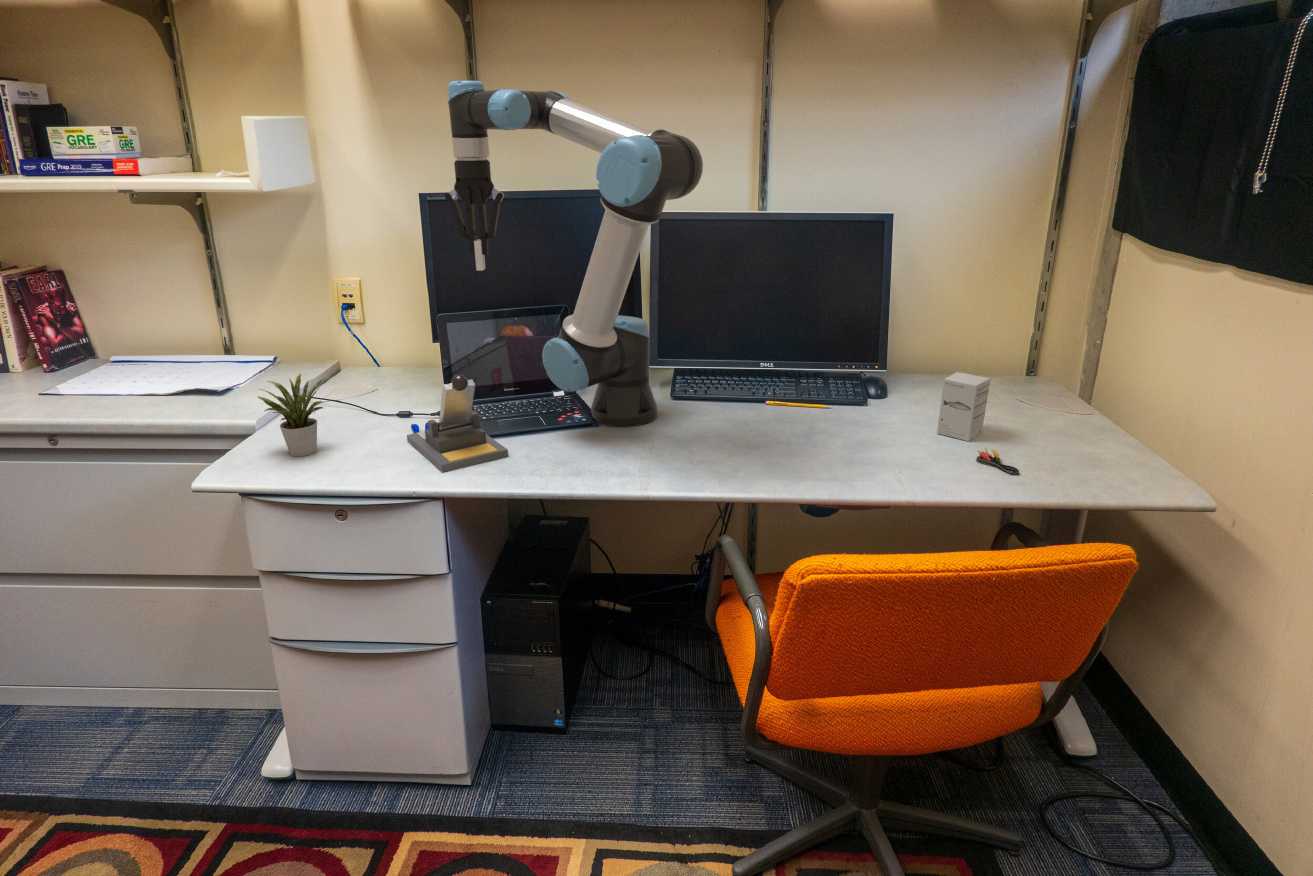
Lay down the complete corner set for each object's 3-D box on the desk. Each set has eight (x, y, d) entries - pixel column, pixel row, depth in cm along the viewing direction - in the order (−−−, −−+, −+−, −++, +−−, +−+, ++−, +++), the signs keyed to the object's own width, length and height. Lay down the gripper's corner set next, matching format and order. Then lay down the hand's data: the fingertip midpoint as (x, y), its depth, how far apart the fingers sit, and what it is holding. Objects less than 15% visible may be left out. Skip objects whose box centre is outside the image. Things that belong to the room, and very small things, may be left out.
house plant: (327, 432, 180) (315, 360, 174) (356, 448, 170) (344, 373, 165) (260, 449, 170) (245, 374, 164) (287, 468, 161) (272, 389, 155)
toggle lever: (434, 425, 168) (440, 374, 158) (466, 418, 172) (474, 368, 162) (440, 436, 166) (446, 385, 157) (472, 429, 170) (480, 378, 160)
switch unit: (407, 441, 174) (403, 410, 172) (469, 428, 182) (466, 398, 179) (442, 472, 159) (438, 438, 156) (508, 456, 166) (505, 424, 164)
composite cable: (1022, 476, 157) (1024, 464, 156) (1000, 478, 155) (1002, 466, 155) (991, 456, 165) (992, 445, 165) (969, 459, 164) (971, 447, 164)
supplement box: (935, 434, 177) (942, 378, 172) (950, 425, 182) (957, 370, 177) (968, 442, 172) (977, 385, 167) (983, 433, 177) (991, 377, 172)
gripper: (505, 158, 180) (512, 266, 188) (445, 158, 180) (456, 266, 188) (498, 159, 173) (506, 272, 181) (437, 159, 173) (448, 272, 181)
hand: (481, 269), depth 185 cm, fingers closed
